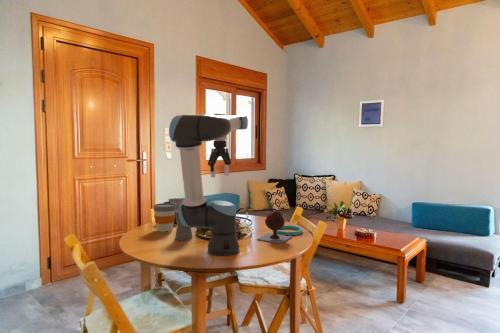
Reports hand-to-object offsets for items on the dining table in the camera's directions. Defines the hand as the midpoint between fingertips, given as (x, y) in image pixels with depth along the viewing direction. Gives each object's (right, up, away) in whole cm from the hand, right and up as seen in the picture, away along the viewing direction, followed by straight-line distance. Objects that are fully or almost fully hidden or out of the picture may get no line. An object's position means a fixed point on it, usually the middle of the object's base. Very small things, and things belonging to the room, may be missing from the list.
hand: (219, 176), depth 197 cm
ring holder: (+40, -32, -3) cm, 51 cm away
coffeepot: (-17, -33, -17) cm, 41 cm away
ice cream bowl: (+31, -33, -18) cm, 48 cm away
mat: (+31, -33, -18) cm, 49 cm away
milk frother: (-30, -31, +17) cm, 46 cm away
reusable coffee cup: (-32, -32, -1) cm, 45 cm away
